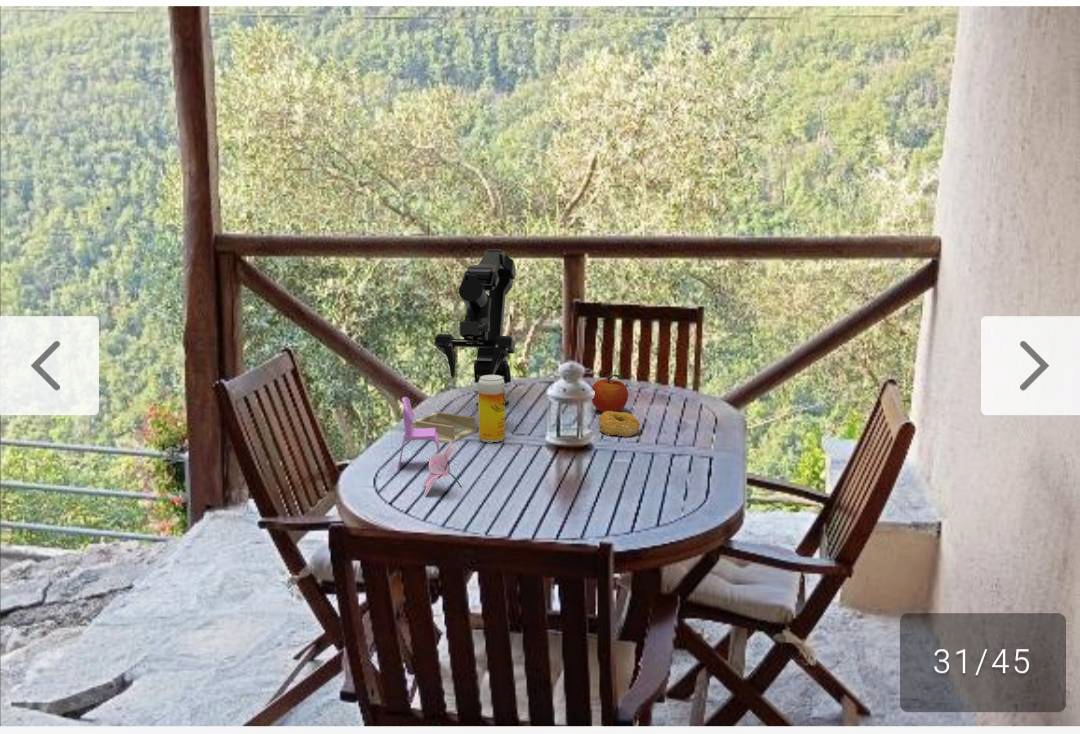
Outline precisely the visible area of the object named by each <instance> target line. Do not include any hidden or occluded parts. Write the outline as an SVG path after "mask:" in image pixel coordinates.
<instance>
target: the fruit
mask: <svg viewBox="0 0 1080 734" xmlns="http://www.w3.org/2000/svg"><path fill="white" fill-rule="evenodd" d="M613 377H614V378H618V379H619V380H617V379H611V378H613ZM622 378H623V377H622V376H621V374H617V373H616V374H615V373H614V374H612V375H610V376H608V375H607V377H606V378H605V379H598V380H597V381H595V383H594V384H593V386H592V387H591V390H592V389H593V390H594V391H595V396H594V398H593V399H591V402H592V404H593V406H594V408H595V409H596V410H597V411H599V412H601V413H603V412H606V411H613V412H620V411H622V410H624V408H625V406H626V404H627V402H628V399H629V391H628V390H629V389H628V388H627V385H625V383H624V382H623V381H621V380H622Z"/></svg>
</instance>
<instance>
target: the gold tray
mask: <svg viewBox="0 0 1080 734" xmlns="http://www.w3.org/2000/svg"><path fill="white" fill-rule="evenodd" d="M411 428H416V429H423V428H436V433H437V434H438V438H439V443H445V444H449V443H450V442H451V441H452V442H451V444H452V443H454V442H457V441H458V440H461V439H464V438H465V437H467V436H469V435H472V434H474V433H476V432H478V428H476V416H475V417H473V416H467V415H461V414H456V413H455V414H454V413H453V414H452V413H448V412H443V411H441V410H438V411H434V412H433V413H430V414H428V415H425V416H423V417H419V418H417V419H414V420H413V424H412V425H411ZM456 440H457V441H456Z"/></svg>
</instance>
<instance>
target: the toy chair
mask: <svg viewBox="0 0 1080 734" xmlns="http://www.w3.org/2000/svg"><path fill="white" fill-rule="evenodd" d="M401 400H402V404H403V409H402V417H403V425H404V431H405V432H404V434H403V438H402V443H401V450H400V456H399V461H398V465H397V470H398V471H399V470H400V468H401V463H402V462H401V461H402V457H403V452H404V445H405V443H407V442H409V441H410V442H411V441H432V442H434V443H435V445H436V450H437V453H436V454H440V442H439V438H438V434H437V433H436V428H423V429H416V428H411V425H412V424H413V421H414V417H415V415H414V411H413V408H412V404H411V400H410V398H409V397H407V396H404V397H402V398H401Z"/></svg>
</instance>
